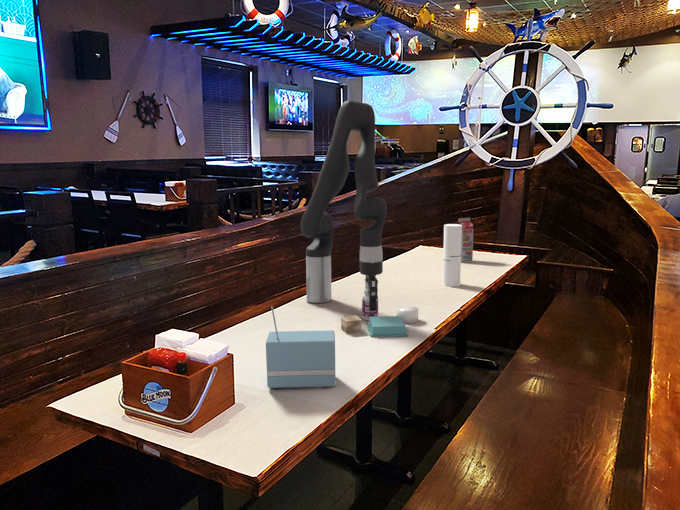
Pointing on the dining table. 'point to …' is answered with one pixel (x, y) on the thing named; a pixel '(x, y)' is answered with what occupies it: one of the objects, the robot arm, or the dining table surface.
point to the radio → (300, 358)
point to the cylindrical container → (452, 255)
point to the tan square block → (351, 324)
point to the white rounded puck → (408, 314)
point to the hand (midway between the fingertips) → (371, 307)
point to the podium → (386, 326)
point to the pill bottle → (365, 307)
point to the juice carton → (466, 239)
